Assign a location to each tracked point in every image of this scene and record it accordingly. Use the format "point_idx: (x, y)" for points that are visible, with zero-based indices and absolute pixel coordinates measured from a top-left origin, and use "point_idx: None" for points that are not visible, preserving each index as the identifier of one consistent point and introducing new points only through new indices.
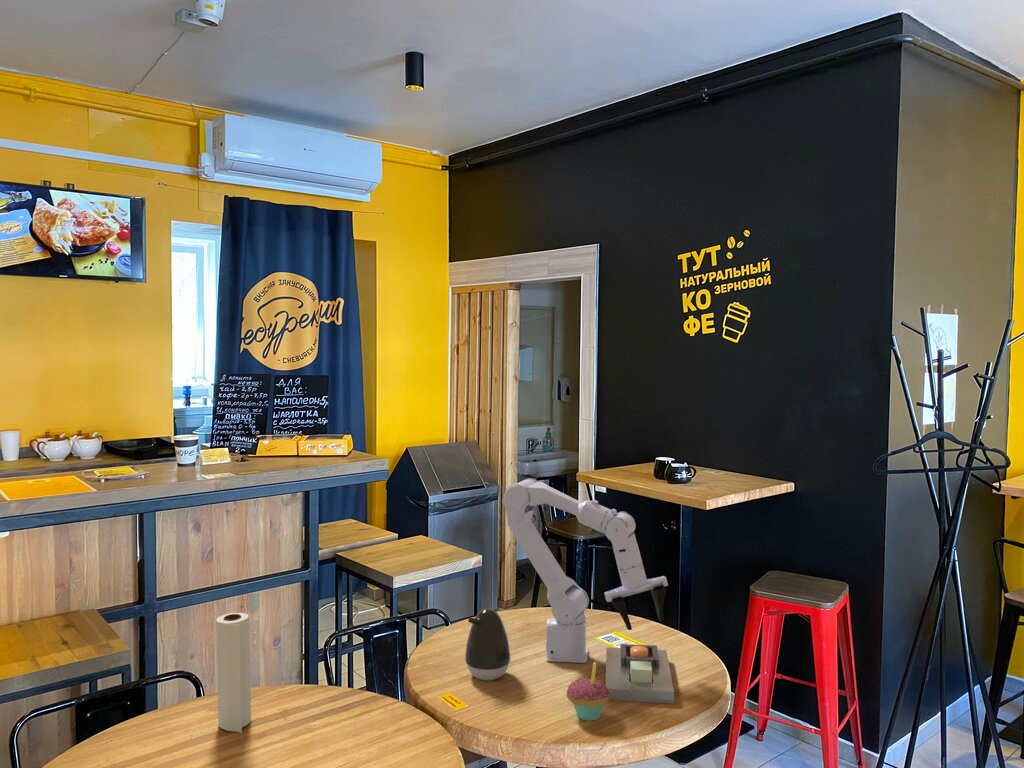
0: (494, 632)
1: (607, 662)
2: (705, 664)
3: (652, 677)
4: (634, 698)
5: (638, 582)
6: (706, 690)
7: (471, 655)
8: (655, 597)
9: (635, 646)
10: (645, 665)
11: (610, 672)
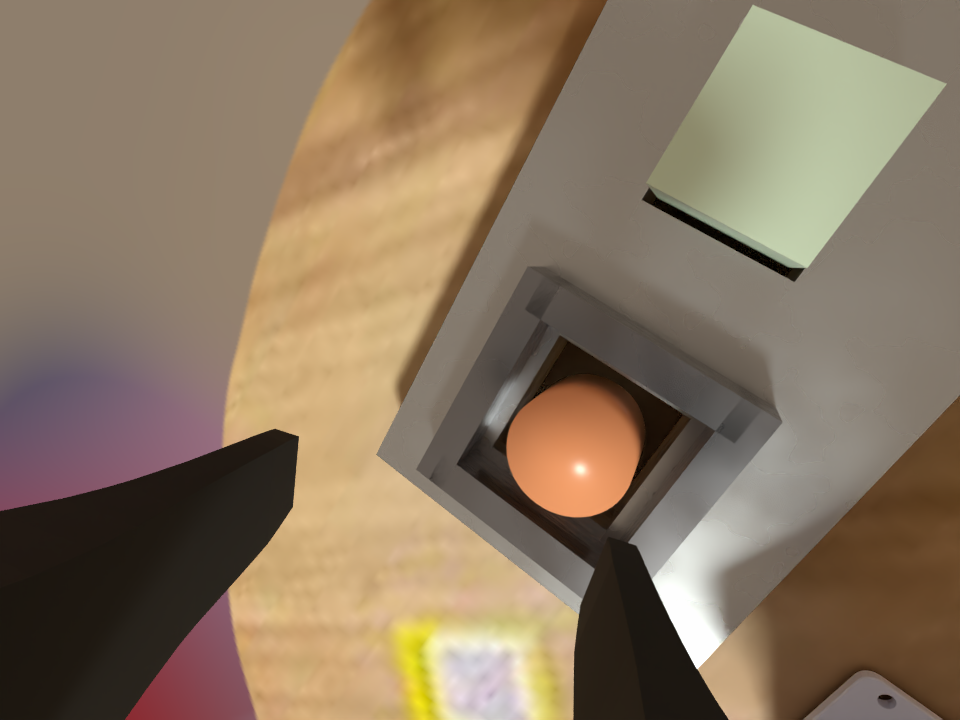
0: None
1: (836, 506)
2: (280, 314)
3: None
4: None
5: None
6: (417, 39)
7: None
8: (67, 645)
9: (563, 507)
10: (738, 127)
11: (951, 343)
